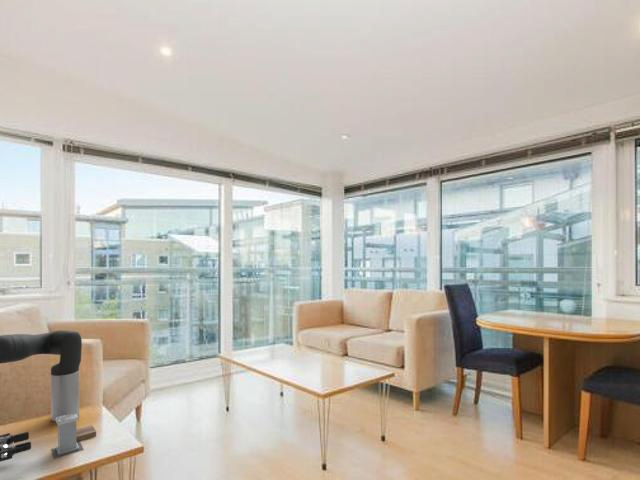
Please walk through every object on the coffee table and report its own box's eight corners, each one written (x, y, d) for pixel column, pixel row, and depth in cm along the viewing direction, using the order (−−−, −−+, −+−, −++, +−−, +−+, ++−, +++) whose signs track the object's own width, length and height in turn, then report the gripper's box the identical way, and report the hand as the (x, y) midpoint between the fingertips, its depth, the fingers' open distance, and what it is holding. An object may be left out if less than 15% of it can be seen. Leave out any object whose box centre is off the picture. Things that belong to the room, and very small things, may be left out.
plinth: (68, 438, 138) (68, 430, 138) (92, 432, 142) (92, 424, 142) (72, 445, 132) (72, 437, 132) (96, 438, 137) (96, 431, 137)
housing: (55, 449, 128) (55, 417, 128) (76, 443, 131) (75, 412, 132) (58, 455, 124) (57, 422, 124) (79, 449, 127) (78, 417, 127)
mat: (50, 452, 128) (50, 449, 128) (79, 444, 133) (79, 441, 133) (53, 462, 122) (53, 458, 122) (84, 453, 127) (84, 449, 127)
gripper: (-44, 454, 106) (31, 435, 116) (-42, 436, 117) (27, 420, 127) (-44, 483, 106) (32, 461, 116) (-41, 462, 117) (28, 444, 127)
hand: (29, 440), depth 122 cm, fingers open, 8 cm apart
